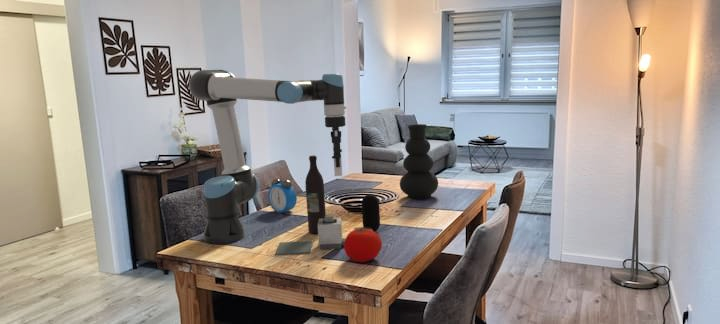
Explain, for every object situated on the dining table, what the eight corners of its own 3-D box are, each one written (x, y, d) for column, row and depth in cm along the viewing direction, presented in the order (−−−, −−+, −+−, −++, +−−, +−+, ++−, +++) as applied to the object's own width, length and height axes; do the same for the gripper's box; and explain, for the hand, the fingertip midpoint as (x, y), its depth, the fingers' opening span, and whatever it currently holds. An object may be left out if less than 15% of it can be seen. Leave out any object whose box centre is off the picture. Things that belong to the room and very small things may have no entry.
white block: (318, 244, 177) (317, 225, 176) (320, 237, 185) (319, 218, 184) (341, 243, 177) (340, 223, 176) (342, 236, 185) (341, 217, 184)
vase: (444, 194, 248) (442, 123, 242) (428, 203, 233) (426, 127, 227) (410, 191, 258) (408, 123, 252) (393, 200, 243) (390, 127, 237)
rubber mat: (275, 255, 174) (274, 253, 174) (279, 244, 186) (279, 242, 186) (309, 253, 174) (309, 251, 174) (312, 242, 186) (312, 240, 186)
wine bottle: (306, 230, 201) (301, 155, 196) (323, 227, 203) (318, 153, 199) (311, 235, 194) (306, 158, 189) (329, 232, 197) (324, 156, 192)
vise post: (320, 249, 177) (318, 219, 175) (321, 242, 185) (319, 213, 183) (373, 247, 177) (372, 216, 175) (372, 239, 185) (371, 210, 183)
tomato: (350, 253, 173) (349, 223, 171) (385, 254, 169) (384, 224, 167) (340, 265, 162) (338, 233, 160) (377, 267, 158) (375, 234, 157)
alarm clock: (268, 211, 234) (265, 179, 231) (278, 208, 239) (275, 177, 236) (288, 214, 226) (286, 181, 224) (298, 211, 231) (296, 179, 228)
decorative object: (378, 229, 198) (376, 191, 195) (382, 234, 191) (380, 195, 189) (361, 230, 197) (359, 193, 194) (364, 235, 190) (362, 196, 188)
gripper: (346, 118, 176) (349, 178, 179) (344, 113, 200) (346, 166, 204) (324, 119, 175) (328, 179, 179) (325, 114, 200) (328, 167, 203)
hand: (338, 172), depth 191 cm, fingers open, 13 cm apart
